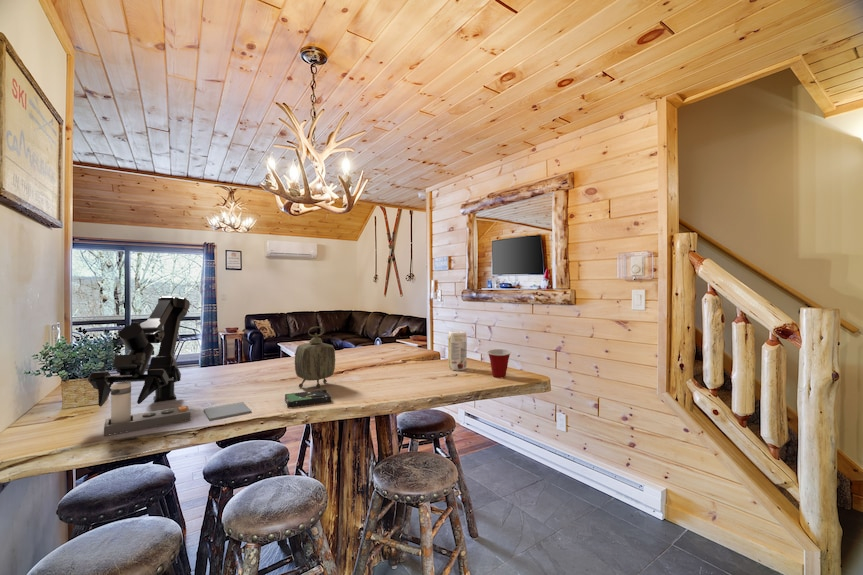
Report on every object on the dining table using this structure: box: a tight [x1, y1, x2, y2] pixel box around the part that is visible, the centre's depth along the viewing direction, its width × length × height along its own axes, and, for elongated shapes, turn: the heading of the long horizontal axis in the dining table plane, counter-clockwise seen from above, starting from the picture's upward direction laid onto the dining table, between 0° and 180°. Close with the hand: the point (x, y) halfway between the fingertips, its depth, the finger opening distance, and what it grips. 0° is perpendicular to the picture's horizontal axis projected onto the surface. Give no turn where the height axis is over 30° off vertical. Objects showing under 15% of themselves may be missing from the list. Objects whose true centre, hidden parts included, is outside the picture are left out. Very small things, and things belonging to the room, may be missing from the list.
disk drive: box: [284, 389, 332, 409], centre depth 134 cm, size 10×3×15 cm
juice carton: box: [447, 330, 468, 371], centre depth 189 cm, size 8×9×19 cm
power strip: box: [103, 405, 191, 436], centre depth 111 cm, size 8×20×3 cm, turn 129°
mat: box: [203, 401, 253, 421], centre depth 123 cm, size 12×12×1 cm
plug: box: [110, 382, 132, 424], centre depth 106 cm, size 7×4×13 cm, turn 16°
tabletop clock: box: [294, 325, 336, 388], centre depth 154 cm, size 14×9×25 cm, turn 133°
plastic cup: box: [487, 348, 512, 379], centre depth 173 cm, size 11×11×12 cm
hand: (119, 404), depth 106 cm, fingers open, 9 cm apart
